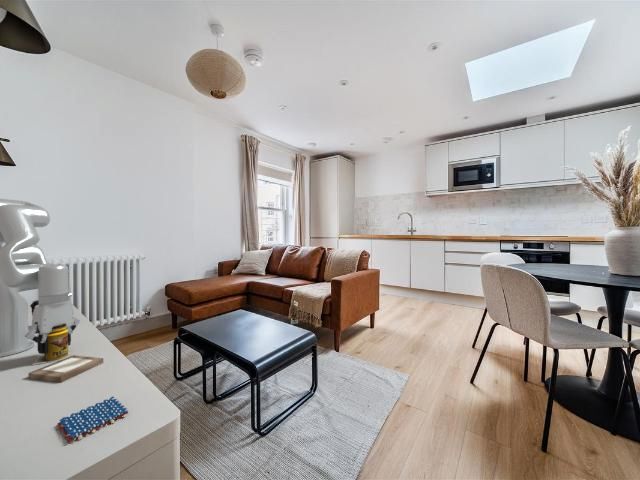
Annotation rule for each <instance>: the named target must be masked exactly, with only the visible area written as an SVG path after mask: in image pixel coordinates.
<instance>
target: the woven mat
mask: <svg viewBox="0 0 640 480" xmlns="http://www.w3.org/2000/svg"><path fill="white" fill-rule="evenodd" d="M128 413H129V411H128V410H127V407H125V405H124V404H123V405H122V402H121V403H120V400H118V399H117V398H115V396H111V397H109V398H107V399H103V400H102V401H101V402H95V404H92V405H91V406H88V407H86V408H84V409H83V408H82V409H80V410H78V411H77V412H73V413H71V414H70V415H68V416H64V417H62V418H60V419H59V422H57V426H58V430H60V432H61V433H62V434H63V436H65V437H64V440H65V439H66V442H68V443H70V444H71V445H73V444H75V441H76V440H78V441H80V440H82V439H83V438H84V437H85V438H87V437H90V436H89V434H90V433H91V434H95V433H96V431H97V430H98V429H100V430H102V429H101V428H103V426H104V428H107V425H112V423H113V424H114V421H115V422H116V419H117V420H118V421H117V422H119V421H120V418H122V416H123V417H124V418H123V419H126V417H127V416H128V415H127V414H128ZM110 423H111V424H110ZM106 424H107V425H106Z"/></svg>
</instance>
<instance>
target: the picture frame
mask: <svg viewBox="0 0 640 480" xmlns="http://www.w3.org/2000/svg"><path fill="white" fill-rule="evenodd" d="M102 364H104V358H103V357H94V356H85V355H74V354H73V355H69V356H68V357H67V358H65V359H63V360H58V361H54V362H52V363H50V364H48V365H45V366H43V367H40V368H38V369H36V370H33V371H30V372H28V375H27V376H28V379H34V380H41V381H47V382H56V383H63V382H65V381H67V380H69V379H71V378H73V377H76V376H78V375H80V374H82V373H85V372H87V371H88V370H91V369H93V368H96V367H97V366H99V365H102Z"/></svg>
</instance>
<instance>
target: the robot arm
mask: <svg viewBox="0 0 640 480" xmlns="http://www.w3.org/2000/svg"><path fill="white" fill-rule="evenodd" d="M50 221H51V216H50V213H49V212H48V210H47V209H45V208H44V207H42V206H39V205H38V204H34V203H31V202H29V201H23V200H15V199H5V198H4V199H3V198H0V358H2V357H6V356H11V355H15V354H19V353H22V352H24V351H28V350H30V349H31V348H33V347H34V346H35V343H37V353H38V354H42V355H44V354H46V353H48V342H45V341H46V339H47V336H48V334H49V333H50V332H51V331H52V327H54V326H58V325H62V324H64V323H66V327H67V328H66V329H67V330H68V347H69V346H71V342H72V334H73V332H74V330H75V329H76V328H77V326H78V325H79V324H80V322H81V320H79V319H78V318H77V317H75V313H74V312H75V311H74V307H73V303H72V301H71V300H70V297H72V296H73V293H72V292H70V291H69V267H68V266H67V265H66V264H63V263H62V264H61V263H60V264H55V263H50V262H49V263H48V262H47V259H46V256H45V254H44V250H42V248H41V247H40V246H39V245H38V243H39V242H40V240H41V239H40V235H39V234H38V232H37V229H36V228H44V227H46V226H48V225H49V224H50ZM32 290H38V291H37V295H38V296H37V297H38V299H37V300H38V302H39V305H36V306H35V308H34V312H33V316H32V320H31V328H30V329H29V307H28V306H29V305H28V301H27V300H26V298H25V297H23V296H22V295H21V294H20V293H19V292H25V291H32ZM36 334H37V335H36ZM29 340H30V341H29Z"/></svg>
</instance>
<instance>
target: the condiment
mask: <svg viewBox="0 0 640 480" xmlns="http://www.w3.org/2000/svg"><path fill="white" fill-rule="evenodd" d="M66 328H67V327H66V323H64V324H62V325H58V326H54V327H52V331H51V332H50V333H49V334H48V336H47V339H46V341H45V342H48V353H46V354H43V355H41V356H39V358H37V360H36V361H35V362H34V363H32V366H34V365H35V366H36V365H40V364H45V363H46V364H47V363H54V362H58V361H60V360H63V359H65V358H68V357H70V356H71V353H72V352H73V350H69V346H68V330H67V329H66Z"/></svg>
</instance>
